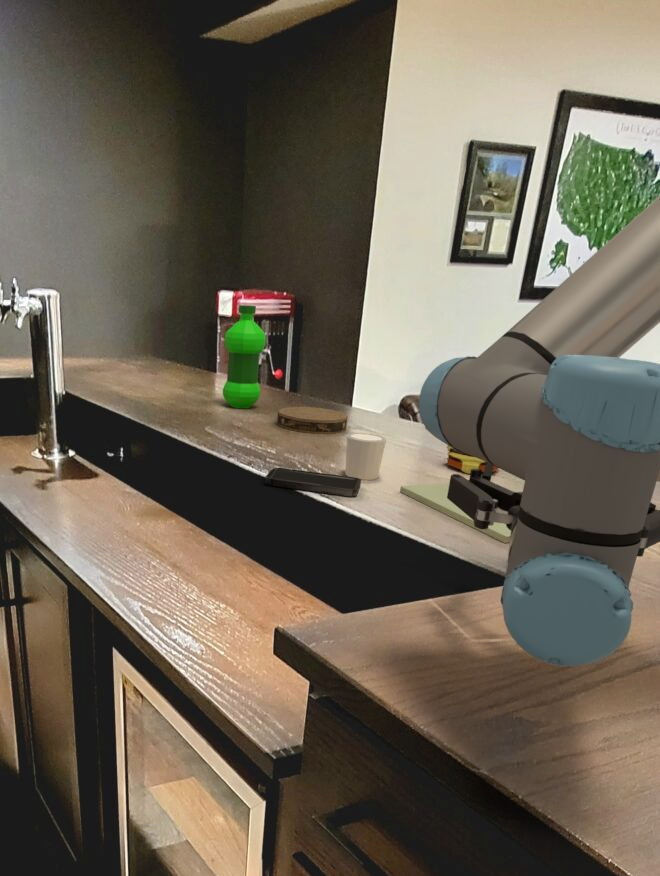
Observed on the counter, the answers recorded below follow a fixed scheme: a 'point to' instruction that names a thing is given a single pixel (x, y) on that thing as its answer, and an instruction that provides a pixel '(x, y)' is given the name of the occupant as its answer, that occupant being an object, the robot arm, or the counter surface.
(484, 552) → the counter surface
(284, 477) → the phone
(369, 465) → the white cup
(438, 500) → the mat
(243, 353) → the plastic bottle
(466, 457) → the cheeseburger
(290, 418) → the brown round disc
